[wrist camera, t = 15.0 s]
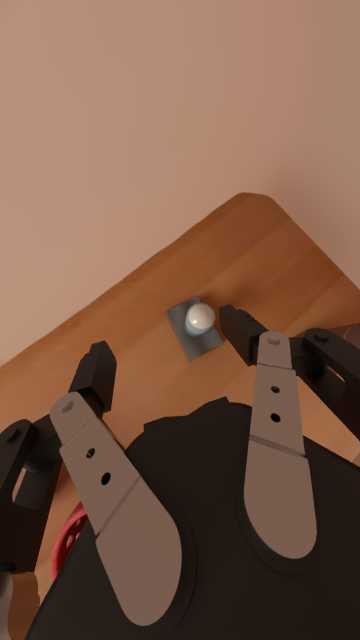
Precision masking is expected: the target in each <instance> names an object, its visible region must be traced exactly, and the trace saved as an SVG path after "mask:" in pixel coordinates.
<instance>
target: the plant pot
mask: <svg viewBox="0 0 360 640" xmlns="http://www.w3.org/2000/svg"><path fill="white" fill-rule="evenodd" d="M87 519H88V515H87V513H86V511H85V509H84V506H83V504H82V502H81V500H80V502H79V503H78V505H77V506H76V508H75V509H74V510H73V512H72V513H71V515H70V516H69V518H68V519H67V521H66V523H65V524H64V526H63V528H62V529H61V531H60V533H59V535H58V538H57V540H56V543H55V546H54V550H53V555H52V577H53V582H54V580H55V578H56V576H57V574H58V573H59V571H60V569H61V567H62V565H63V563H64V562H65V560H66V558H67V556H68V554H69V552H70V551H71V549H72V547H73V545H74V543H75V541H76V535H77V534H78V536H79V534H80V532H81V530H82V529H83V527H84V525H85V523H86V521H87ZM77 521H78V522H77ZM76 523H77V525H76ZM68 538H69V544H68V547H67V541H68Z"/></svg>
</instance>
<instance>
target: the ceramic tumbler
mask: <svg viewBox="0 0 360 640" xmlns="http://www.w3.org/2000/svg"><path fill="white" fill-rule="evenodd" d="M215 319H216V316H215V312H214V310H213V308H212V307H211V306H209V305H208V304H205V303H196V304H194V305H192V306H191V307H190V308H189V310H188V312H187V316H186V321H185V325H184V329H185V332H186V333H187V334H188V335H189V336H191V337H195V338H196V337H200V336H202V335H203V334H204V333H205V332H206V331H207V330H208V329H210V328H211V327H212V326H213V324H214V322H215Z"/></svg>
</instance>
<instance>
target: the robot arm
mask: <svg viewBox="0 0 360 640" xmlns="http://www.w3.org/2000/svg"><path fill="white" fill-rule="evenodd" d="M219 315H220V327H221V330H222V332H223V334H224V335H225V337H226V338H227V339H228V341H229V342H230V343H231V344H232V346H233V347H234V348H235V350H236V351H237V352H238V354H239V355H240V356H241V358H242V359H243V360H244V362H245V363H246V364H247V366H251V365H255V366H256V377H255V387H254V396H253V406H252V407H251V406H249V405H246V404H242V403H234V402H229V401H228V399H227V397H226V396H225V397H222V398H220V399H217V400H214V401H211V402H208V403H206V404H204V405H203V406H201V407H200V408H198V409H197V410H195V411H194V412H192V413H191V414H189V415H187V416H174V417H163V418H160V419H157V420H155V421H152V422H149V423H146V424H144V432H143V433H142V434H140V435H139V436H138V437H137V438H136V439H135V440H134V441H133V442H132V443H131V444H130V445H129V446H128V448H127V449H126V448H125V447H124V446H123V444H122V443H121V442H120V441H119V440H118V438H117V437H116V436H115V434H114V433H113V432H112V431H111V429H110V428H109V427H108V426H107V424H106V423H105V422H104V421H103V419H102V417H103V413H105V412H108V411H111V405H112V397H113V390H114V382H115V374H116V367H117V363H116V359H115V356H114V355H113V353H112V351H111V349H110V348H109V346H108V344H107V343H106V341H101V342H98V343H94V344H92V345H91V348H90V351H89V353H87V354H85V356H84V357H83V358H82V359H81V360H80V363H79V366H78V368H77V371H76V374H75V376H74V379H73V381H72V384H71V386H70V389H69V391H68V394H66V395H64V396H63V397H61V398H60V399H59V400H58V401H57V402H56V403H55V404H54V405H53V407H52V409H51V411H50V413H49V414H48V415H46V416H44V417H43V418H41V419H39V420H37V421H36V422H34V423H31V422H30V421H29V420H27V419H22V420H19V421H17V422H15V423H13V424H11V425H10V426H9V427H7V428H6V429H5V430H4V431H3V432H2V433H1V434H0V640H360V467H359V466H357V465H355V464H353V463H351V462H350V461H348V460H346V459H344V458H343V457H341V456H339V455H337V454H336V453H334V452H332V451H330V450H328V449H327V448H325V447H323V446H321V445H320V444H318V443H316V442H314V441H312V440H311V439H309V438H307V437H305V436H304V435H303V433H302V424H301V415H300V406H299V397H298V388H297V379H296V376H299V377H300V378H301V379H302V380H303V381H304V382H305V383H306V384H307V385H308V386H309V388H310V389H311V390H312V391H313V392H314V393H315V394H316V395H317V396H318V397H319V398H320V399H321V400H322V401H323V402H324V403H325V405H326V406H327V407H328V408H329V409H330V410H331V411H332V412H333V413H334V414H335V415H336V416H337V417H338V418H339V419H340V420H341V422H342V423H343V424H344V425H345V426H346V427H347V428H348V429H349V430H350V431H351V432H352V433H353V434H354V435H355V436H356V438H357V439H358V440H359V441H360V323H357V324H352V325H347V326H341V327H336V328H331V329H321V328H312V329H308V330H307V331H306V332H305V333H304V334H299V335H297V336H295V337H293V338H288V337H287V336H286V335H284V334H282V333H280V332H275V331H269V330H267V329H266V328H265V327H264V326H263V325H262V324H260V323H259V322H258V321H257V320H255V319H254V318H253V317H251V315H250V314H249V313H247V312H246V311H243V310H241V309H238V310H236V309H235V308H234V307H233V306H232V305H231V304H230V305H226V306H223V307H220V308H219ZM336 374H339V375H340V376H341V377H342V378H343V379H344V381H345V382H344V381H343V380H341V379H340V378H339V377H338V376H337V375H336ZM62 460H63V461H64V463H65V465H66V467H67V470H68V472H69V474H70V477H71V479H72V481H73V483H74V486H75V488H76V490H77V493H78V495H79V497H80V499H81V502H82V504H83V506H84V509H85V511H86V513H87V515H88V519H87V521H86V523H85V525H84V527H83V529H82V530H81V532H80V534H79V536H78V538H77V540H76V541H75V543H74V545H73V547H72V549H71V551H70V552H69V554H68V556H67V558H66V560H65V562H64V563H63V565H62V567H61V569H60V571H59V573H58V574H57V576H56V578H55V580H54V582H53V584H52V585H51V587H50V589H49V591H48V593H47V594H46V596H45V598H44V600H43V602H42V604H41V605H40V596H39V595H38V594H37V593H38V581H37V578H36V576H35V574H34V570H35V566H36V562H37V558H38V554H39V550H40V547H41V543H42V539H43V535H44V531H45V527H46V523H47V519H48V515H49V511H50V507H51V504H52V500H53V496H54V492H55V488H56V484H57V480H58V476H59V472H60V468H61V464H62ZM22 468H23V469H26V472H25V474H24V477H23V480H22V482H21V485H20V487H19V490H18V492H17V495H16V497H15V500H14V502H13V490H14V488H15V485H16V483H17V480H18V478H19V475H20V473H21V471H22ZM39 606H40V607H39Z"/></svg>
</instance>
